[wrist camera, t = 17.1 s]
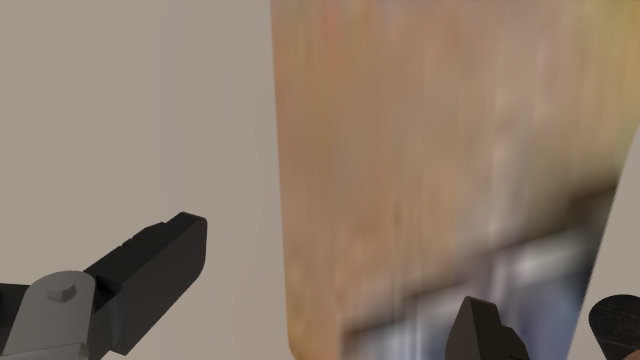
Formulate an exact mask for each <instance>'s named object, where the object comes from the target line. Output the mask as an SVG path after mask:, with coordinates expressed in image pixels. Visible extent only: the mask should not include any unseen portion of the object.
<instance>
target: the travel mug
mask: <svg viewBox="0 0 640 360" xmlns="http://www.w3.org/2000/svg"><path fill="white" fill-rule="evenodd" d="M589 324H590V327H591V329H592V331H593V333H594V336H595V337H596V339H597V342H598V343H599V345H600V347H601V349H602V351H603V353H604V355H605V357H606V359H607V360H640V297H637V296H633V295H614V296H610V297H607V298H604V299H602V300H601V301H599V302H598V303H596V304H595V305H594V306H593V308H592V309H591V311H590V313H589Z"/></svg>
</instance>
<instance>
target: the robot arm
mask: <svg viewBox="0 0 640 360" xmlns="http://www.w3.org/2000/svg"><path fill="white" fill-rule="evenodd" d="M206 239H207V220H206V219H205V218H203V217H200V216H196V215H193V214H189V213H186V212H181V213H179V214H178V215H176V216H175V217H174V218H172V219H171V220H170V221H168V222H167V223H164V222H161V223H158V224H155V225H152V226H149V227H146V228H144V229H143V230H141V231H140V232H139V233H137V234H136V235H134V236H133V238H132V239H129V240H127V241H126V242H124V243H123V244H122V246H119V247H117V248H116V249H114V250H113V251H111V252H110V253H108V254H107V255H106V256H104V257H103V258H101V259H100V260H98V261H97V262H96V263H94V264H93V265H91V266H90V267H88V268H87V269H85V270H84V271H83V272H81V271H62V272H57V273H53V274H50V275H47V276H45V277H42V278H41V279H39V280H37V281H36V282H34V283H33V284H32V285H20V284H4V283H0V360H101V358H102V357H103V356H104V355H105V354H106V353H107V352H108V351H109V350H111V351H113V352H116V353H119V354H122V355H124V356H126V355H127V354H128V353H129V352H130V350H131V349H132V348H133V347H134V346H135V345H136V344H137V342H139V341H140V340H141V339H142V337H143V336H144V335H145V334H146V333H147V332H148V331H149V330H150V329H151V327H153V325H155V323H156V322H157V321H158V320H159V319H160V318H161V317H162V316H163V315H164V314H165V313H166V312H167V310H168V309H169V308H170V307H171V306H172V305H173V304H174V303H175V302H176V301H177V300H178V298H179V297H180V296H181V295H182V294H183V293H184V292H185V291H186V290H187V289H188V288H189V287H190V286H191V285H192V283H193V282H194V281H195V280H196V279H197V278H198V277H199V275H200V273H201V271H202V269H203V267H204V263H205V256H206ZM445 360H530V359H529V356H528V353H527V350H526V347H525V344H524V343H523V342H522V341H521V339H520V338H519V337H518V335H517V334H516V333H515V331H514V330H513V329H512V328H510V327H506V326H503V325H501V321H500V317H499V314H498V310H497V307H496V305H495V304H494V303H490V302H487V301H484V300H480V299H477V298H473V297H470V296H466V297H465V298H464V300H463V302H462V305H461V307H460V310H459V312H458V315H457V317H456V320H455V322H454V325H453V327H452V329H451V332H450V334H449V337H448V340H447V345H446V351H445Z"/></svg>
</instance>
